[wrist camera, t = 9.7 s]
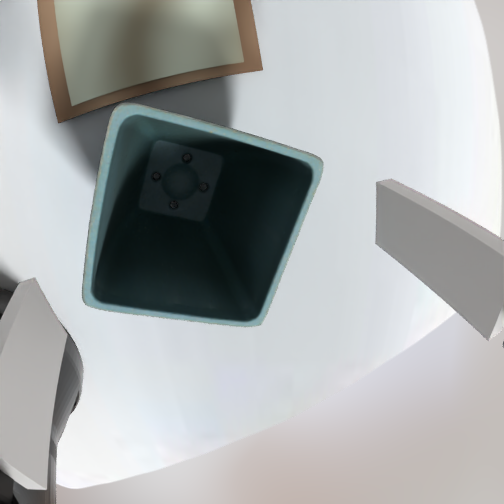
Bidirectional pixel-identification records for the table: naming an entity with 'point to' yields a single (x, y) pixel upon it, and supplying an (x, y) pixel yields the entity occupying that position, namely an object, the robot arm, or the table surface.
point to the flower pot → (193, 218)
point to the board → (140, 47)
